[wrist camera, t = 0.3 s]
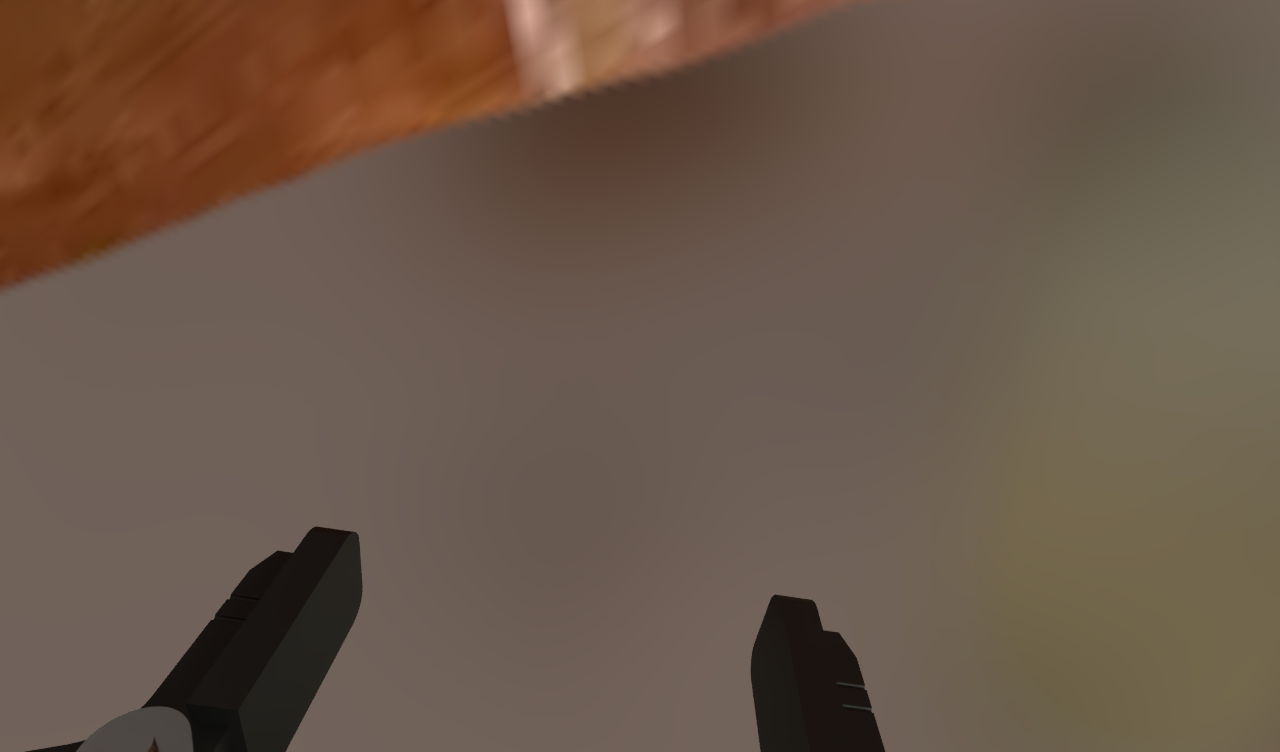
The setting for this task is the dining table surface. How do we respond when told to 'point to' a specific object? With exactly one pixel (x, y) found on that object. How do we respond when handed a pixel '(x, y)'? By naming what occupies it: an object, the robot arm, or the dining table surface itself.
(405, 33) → the dining table surface
